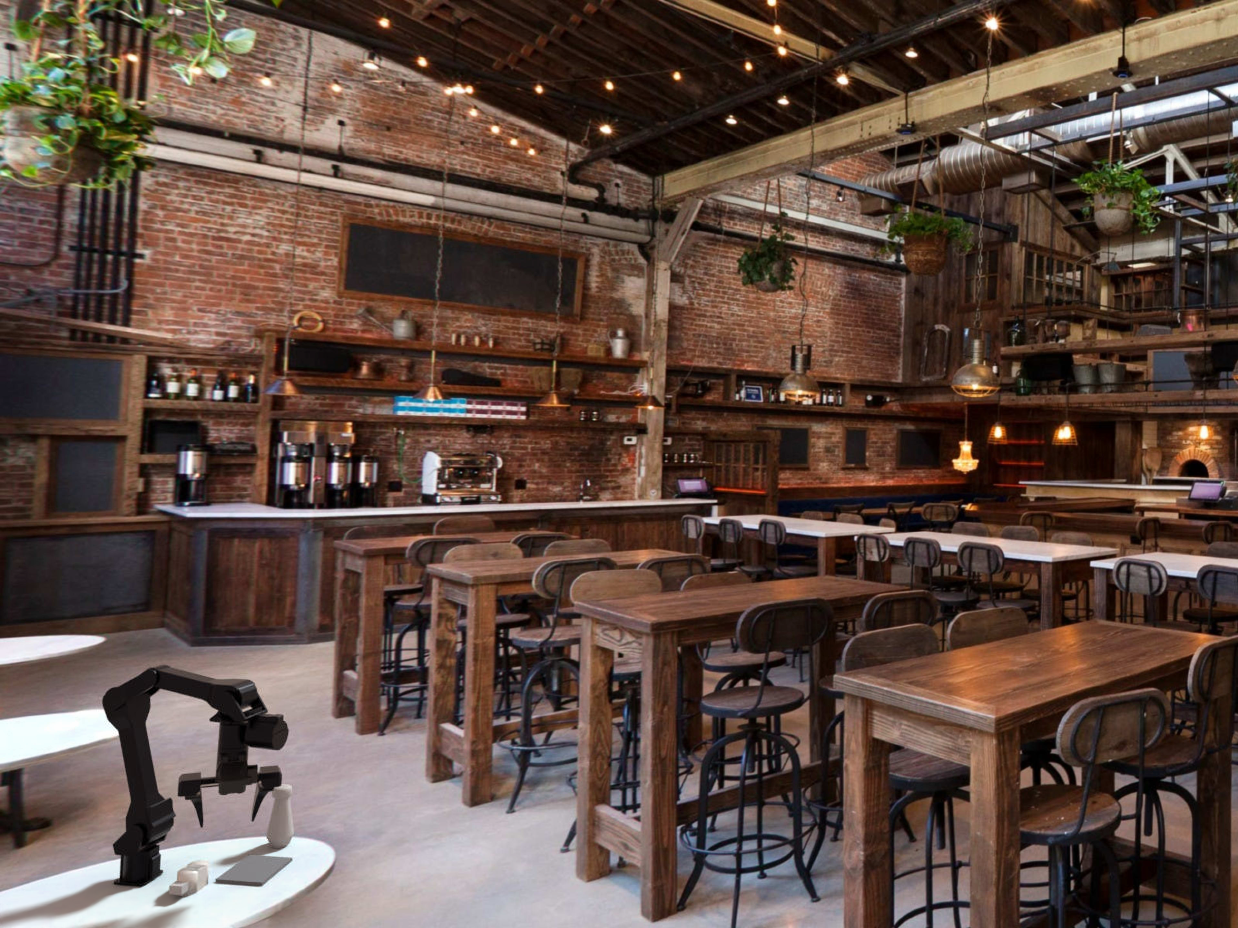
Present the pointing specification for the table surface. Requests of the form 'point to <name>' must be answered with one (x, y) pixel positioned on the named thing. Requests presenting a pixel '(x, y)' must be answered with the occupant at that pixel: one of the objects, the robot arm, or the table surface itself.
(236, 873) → the coaster
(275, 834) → the salt shaker
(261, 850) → the table surface
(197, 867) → the plug
